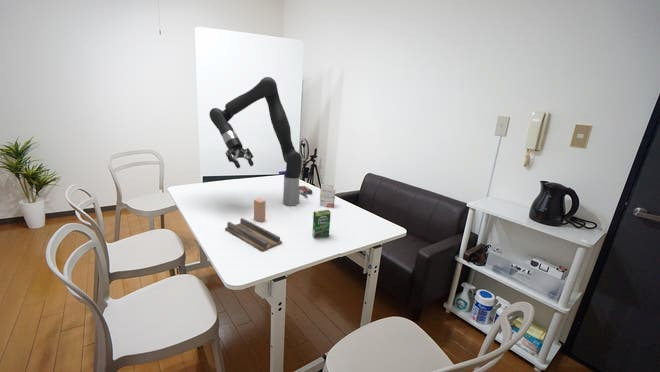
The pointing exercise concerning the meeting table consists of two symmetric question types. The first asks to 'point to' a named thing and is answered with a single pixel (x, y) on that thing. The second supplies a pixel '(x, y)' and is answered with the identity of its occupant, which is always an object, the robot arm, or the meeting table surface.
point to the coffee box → (321, 223)
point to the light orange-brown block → (259, 210)
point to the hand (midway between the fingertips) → (245, 166)
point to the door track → (253, 235)
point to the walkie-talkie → (305, 190)
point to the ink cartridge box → (327, 195)
